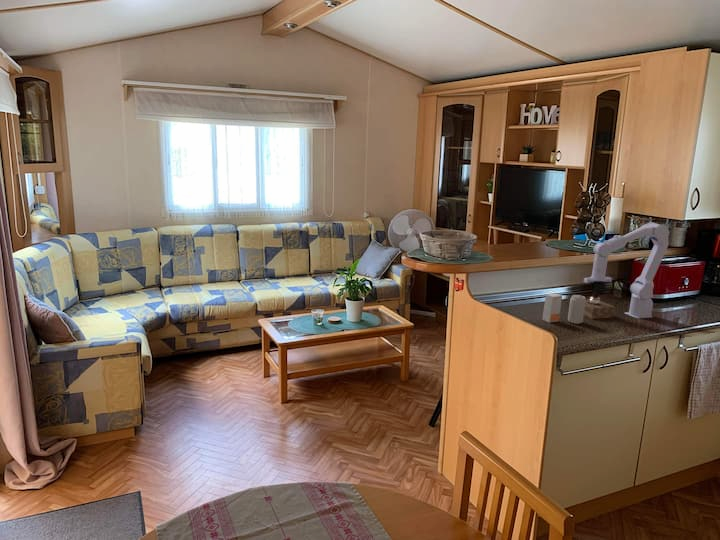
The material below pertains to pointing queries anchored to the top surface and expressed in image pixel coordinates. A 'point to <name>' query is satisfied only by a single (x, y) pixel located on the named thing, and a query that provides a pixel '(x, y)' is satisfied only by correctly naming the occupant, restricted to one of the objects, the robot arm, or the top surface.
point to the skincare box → (552, 308)
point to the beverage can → (576, 309)
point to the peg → (594, 300)
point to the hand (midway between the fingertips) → (595, 296)
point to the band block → (599, 310)
